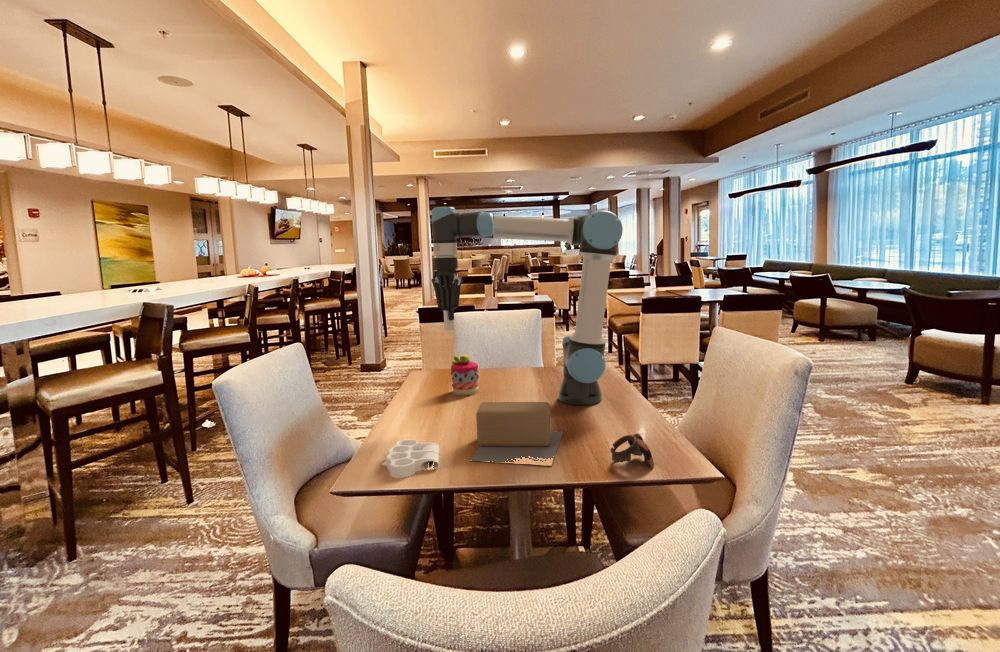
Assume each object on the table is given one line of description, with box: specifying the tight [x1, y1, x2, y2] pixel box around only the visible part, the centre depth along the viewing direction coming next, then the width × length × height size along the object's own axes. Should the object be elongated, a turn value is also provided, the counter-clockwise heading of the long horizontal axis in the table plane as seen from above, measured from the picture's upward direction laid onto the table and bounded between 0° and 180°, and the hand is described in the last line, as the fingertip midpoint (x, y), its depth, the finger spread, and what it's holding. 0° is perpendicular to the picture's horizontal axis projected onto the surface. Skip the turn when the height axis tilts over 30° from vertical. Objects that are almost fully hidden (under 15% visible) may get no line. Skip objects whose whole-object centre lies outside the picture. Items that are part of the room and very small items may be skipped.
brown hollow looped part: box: [610, 433, 655, 470], centre depth 126 cm, size 12×10×8 cm
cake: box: [450, 354, 480, 397], centre depth 194 cm, size 10×11×15 cm
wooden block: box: [475, 401, 552, 447], centre depth 142 cm, size 10×10×20 cm
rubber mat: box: [470, 430, 564, 462], centre depth 139 cm, size 21×24×1 cm
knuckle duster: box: [380, 438, 441, 479], centre depth 131 cm, size 3×18×15 cm
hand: (449, 329), depth 165 cm, fingers closed
